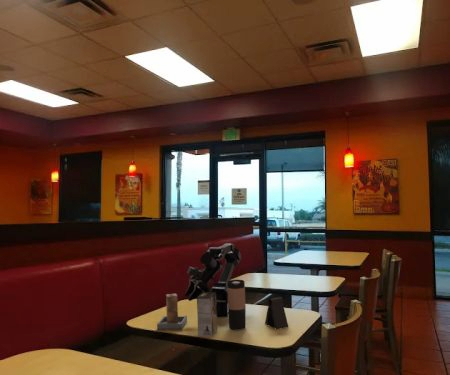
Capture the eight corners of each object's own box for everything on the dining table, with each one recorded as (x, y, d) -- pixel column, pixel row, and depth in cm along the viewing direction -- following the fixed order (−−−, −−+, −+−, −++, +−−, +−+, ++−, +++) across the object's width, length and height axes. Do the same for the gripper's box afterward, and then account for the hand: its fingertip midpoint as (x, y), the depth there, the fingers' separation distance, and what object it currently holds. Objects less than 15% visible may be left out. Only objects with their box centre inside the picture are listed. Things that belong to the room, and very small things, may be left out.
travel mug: (237, 323, 171) (235, 278, 172) (249, 327, 165) (248, 280, 166) (225, 327, 166) (223, 281, 166) (237, 331, 160) (236, 283, 161)
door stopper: (288, 326, 164) (287, 298, 165) (277, 329, 161) (276, 301, 162) (275, 321, 172) (274, 294, 173) (264, 324, 169) (263, 296, 170)
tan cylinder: (176, 322, 174) (175, 293, 174) (178, 325, 169) (177, 295, 170) (166, 323, 172) (166, 294, 173) (168, 326, 168) (167, 296, 169)
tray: (186, 321, 176) (186, 316, 176) (181, 329, 165) (181, 323, 165) (163, 321, 177) (163, 316, 177) (157, 329, 166) (157, 323, 166)
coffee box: (203, 329, 165) (202, 291, 166) (217, 329, 164) (216, 292, 164) (197, 336, 156) (196, 297, 157) (212, 337, 155) (211, 297, 155)
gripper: (193, 257, 185) (171, 282, 181) (201, 263, 167) (177, 290, 163) (209, 272, 186) (188, 297, 183) (219, 279, 168) (195, 307, 165)
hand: (186, 298), depth 173 cm, fingers open, 9 cm apart
